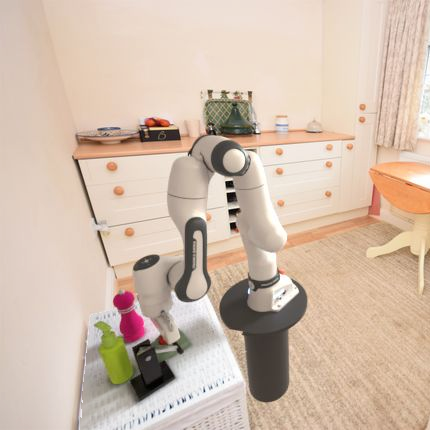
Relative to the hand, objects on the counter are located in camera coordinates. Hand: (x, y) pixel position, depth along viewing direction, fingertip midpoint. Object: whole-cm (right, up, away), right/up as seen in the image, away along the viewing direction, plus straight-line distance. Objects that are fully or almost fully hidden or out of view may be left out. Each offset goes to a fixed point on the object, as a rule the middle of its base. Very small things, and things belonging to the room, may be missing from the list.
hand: (164, 336), depth 97 cm
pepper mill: (-14, -3, +7) cm, 16 cm away
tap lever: (+4, -1, -10) cm, 10 cm away
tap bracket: (+1, -10, -9) cm, 13 cm away
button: (0, -2, +1) cm, 2 cm away
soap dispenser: (-10, -9, -7) cm, 15 cm away
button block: (0, -5, +2) cm, 6 cm away
